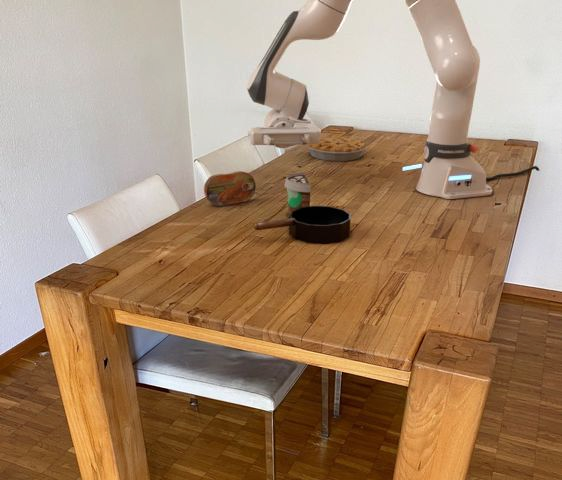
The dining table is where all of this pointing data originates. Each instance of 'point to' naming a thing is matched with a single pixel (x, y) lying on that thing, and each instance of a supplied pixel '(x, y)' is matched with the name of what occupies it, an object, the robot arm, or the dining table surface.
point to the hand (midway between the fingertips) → (288, 141)
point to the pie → (337, 149)
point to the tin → (229, 188)
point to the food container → (297, 191)
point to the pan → (314, 224)
